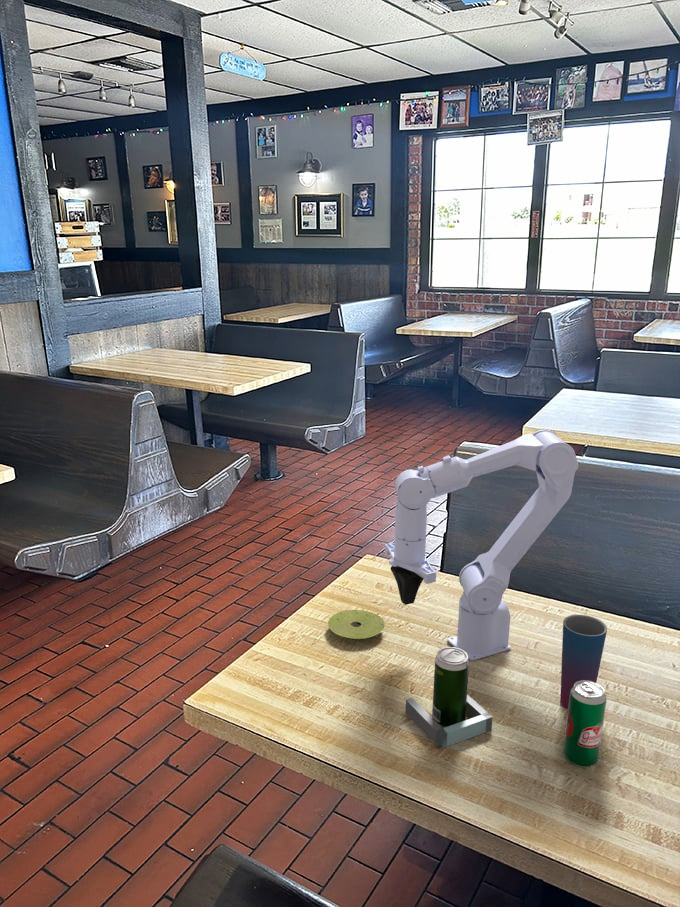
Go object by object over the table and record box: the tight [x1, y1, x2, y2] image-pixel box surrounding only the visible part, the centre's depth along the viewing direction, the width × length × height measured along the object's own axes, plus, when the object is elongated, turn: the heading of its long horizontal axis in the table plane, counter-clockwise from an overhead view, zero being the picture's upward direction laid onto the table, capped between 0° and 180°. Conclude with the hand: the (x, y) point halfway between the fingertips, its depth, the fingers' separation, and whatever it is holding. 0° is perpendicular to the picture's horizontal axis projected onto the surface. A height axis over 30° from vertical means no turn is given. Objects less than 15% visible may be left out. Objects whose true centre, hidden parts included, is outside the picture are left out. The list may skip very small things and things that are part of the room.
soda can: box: [562, 680, 607, 768], centre depth 106 cm, size 5×5×12 cm
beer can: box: [431, 646, 470, 728], centre depth 114 cm, size 5×5×12 cm
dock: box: [404, 694, 493, 750], centre depth 115 cm, size 10×10×2 cm
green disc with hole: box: [327, 609, 385, 640], centre depth 142 cm, size 11×11×2 cm
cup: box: [559, 614, 608, 711], centre depth 118 cm, size 7×7×15 cm
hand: (407, 602), depth 134 cm, fingers closed
